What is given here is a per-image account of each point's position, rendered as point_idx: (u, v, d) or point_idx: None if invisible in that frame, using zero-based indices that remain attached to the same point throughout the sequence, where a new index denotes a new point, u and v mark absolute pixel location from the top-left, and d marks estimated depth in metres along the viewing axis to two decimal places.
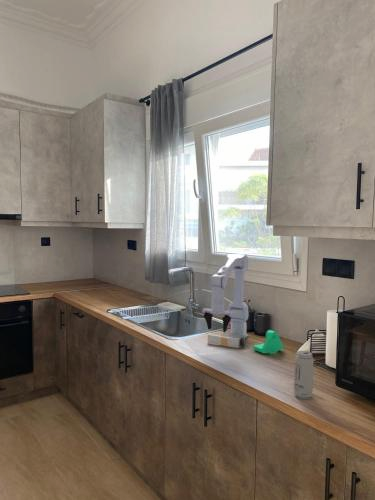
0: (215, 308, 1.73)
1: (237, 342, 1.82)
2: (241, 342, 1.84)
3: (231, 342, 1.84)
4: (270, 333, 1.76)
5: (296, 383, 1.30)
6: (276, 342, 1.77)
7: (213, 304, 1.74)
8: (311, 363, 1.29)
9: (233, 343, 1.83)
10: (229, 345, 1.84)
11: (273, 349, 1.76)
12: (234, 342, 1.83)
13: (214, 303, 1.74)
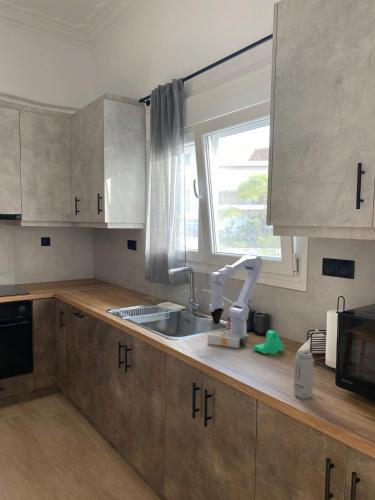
0: None
1: (237, 342, 1.82)
2: (241, 342, 1.84)
3: (231, 342, 1.84)
4: (270, 333, 1.76)
5: (296, 383, 1.30)
6: (276, 342, 1.77)
7: None
8: (311, 363, 1.29)
9: (233, 343, 1.83)
10: (229, 345, 1.84)
11: (273, 349, 1.76)
12: (234, 342, 1.83)
13: None
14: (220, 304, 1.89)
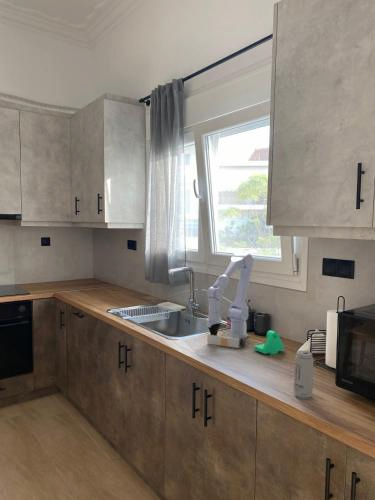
0: None
1: (237, 342, 1.82)
2: (241, 342, 1.84)
3: (231, 342, 1.84)
4: (271, 333, 1.76)
5: (296, 383, 1.30)
6: (277, 342, 1.77)
7: None
8: (311, 363, 1.29)
9: (233, 344, 1.83)
10: (229, 345, 1.84)
11: (274, 349, 1.76)
12: (234, 342, 1.83)
13: None
14: (217, 319, 1.87)
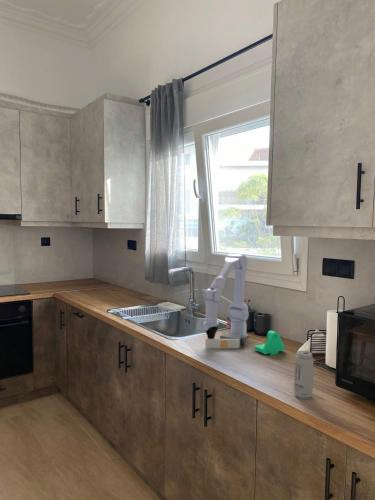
0: None
1: (238, 342, 1.82)
2: (241, 342, 1.84)
3: (231, 343, 1.82)
4: (271, 333, 1.75)
5: (296, 383, 1.30)
6: (277, 342, 1.77)
7: None
8: (311, 363, 1.29)
9: (234, 344, 1.82)
10: (229, 346, 1.82)
11: (274, 349, 1.76)
12: (235, 343, 1.82)
13: None
14: (215, 322, 1.81)
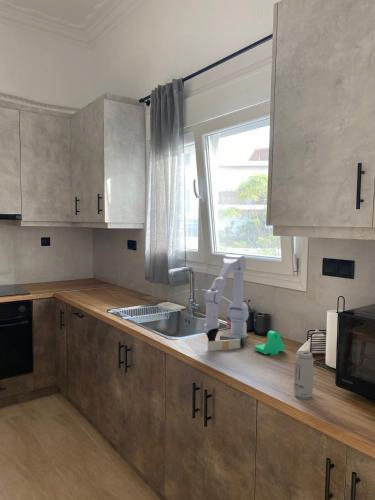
0: None
1: (238, 342, 1.82)
2: (241, 342, 1.84)
3: (232, 344, 1.81)
4: (271, 333, 1.75)
5: (296, 383, 1.30)
6: (277, 343, 1.76)
7: None
8: (311, 363, 1.29)
9: (235, 345, 1.81)
10: (230, 347, 1.81)
11: (274, 349, 1.76)
12: (235, 343, 1.81)
13: None
14: (215, 324, 1.78)
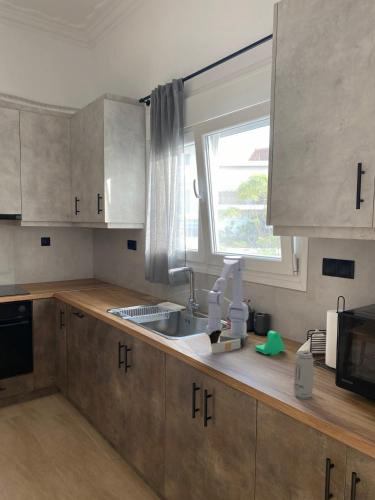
0: None
1: (239, 342, 1.82)
2: (241, 342, 1.84)
3: (234, 344, 1.80)
4: (272, 334, 1.75)
5: (296, 383, 1.30)
6: (278, 343, 1.76)
7: None
8: (311, 363, 1.29)
9: (236, 345, 1.81)
10: (232, 348, 1.80)
11: (274, 350, 1.75)
12: (236, 343, 1.81)
13: None
14: (218, 326, 1.74)
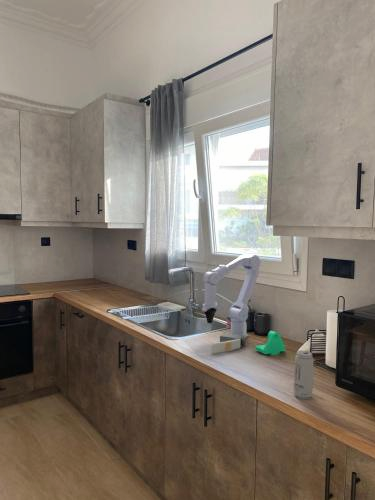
0: None
1: (239, 342, 1.82)
2: (241, 342, 1.84)
3: (234, 344, 1.80)
4: (272, 334, 1.75)
5: (296, 383, 1.30)
6: (278, 343, 1.76)
7: None
8: (311, 363, 1.29)
9: (236, 345, 1.81)
10: (232, 348, 1.80)
11: (275, 350, 1.75)
12: (236, 343, 1.81)
13: None
14: (213, 304, 1.90)
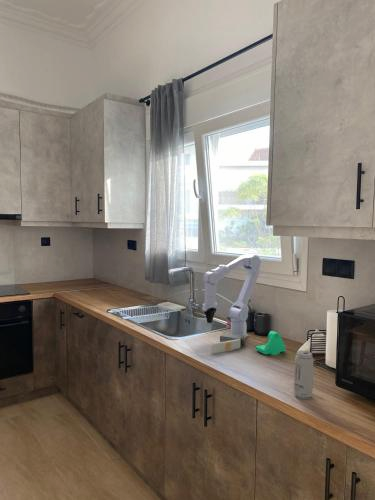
0: None
1: (239, 342, 1.82)
2: (241, 342, 1.84)
3: (234, 344, 1.80)
4: (272, 334, 1.75)
5: (296, 383, 1.30)
6: (278, 343, 1.76)
7: None
8: (311, 363, 1.29)
9: (236, 345, 1.81)
10: (232, 348, 1.80)
11: (275, 350, 1.75)
12: (236, 343, 1.81)
13: None
14: (213, 303, 1.90)
